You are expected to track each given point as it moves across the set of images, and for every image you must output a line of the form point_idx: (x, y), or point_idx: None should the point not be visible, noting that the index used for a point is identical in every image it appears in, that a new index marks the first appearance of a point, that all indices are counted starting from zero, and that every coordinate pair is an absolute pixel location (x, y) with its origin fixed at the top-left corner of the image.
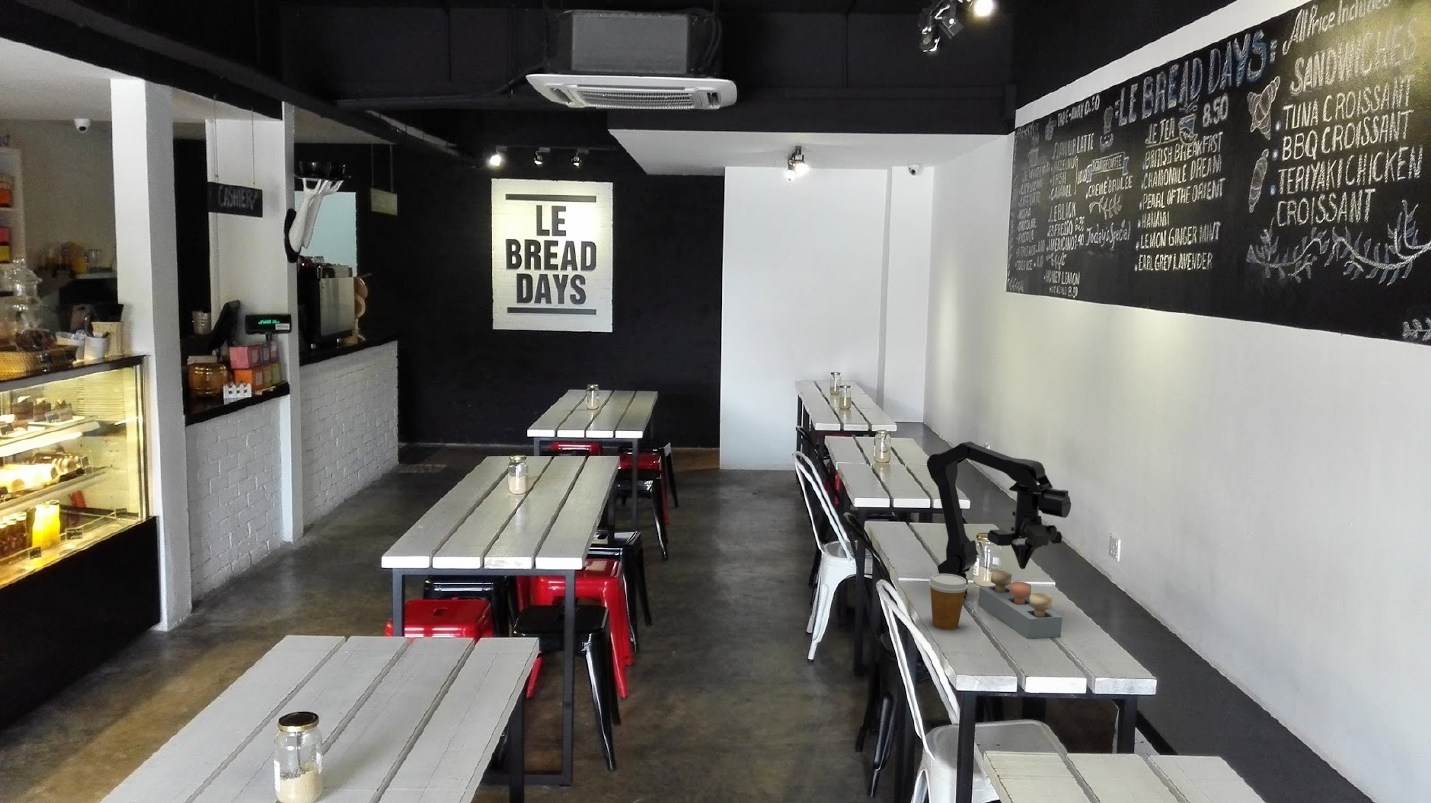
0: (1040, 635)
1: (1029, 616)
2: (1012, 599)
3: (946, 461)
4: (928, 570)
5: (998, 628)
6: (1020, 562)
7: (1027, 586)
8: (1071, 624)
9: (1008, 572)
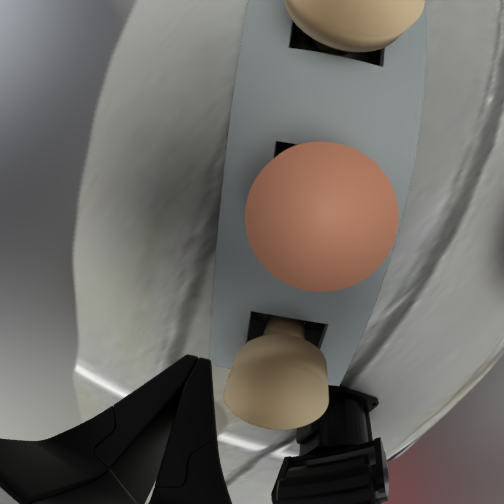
0: None
1: None
2: None
3: None
4: (268, 476)
5: (436, 144)
6: (212, 406)
7: (301, 170)
8: (142, 91)
9: (229, 399)
